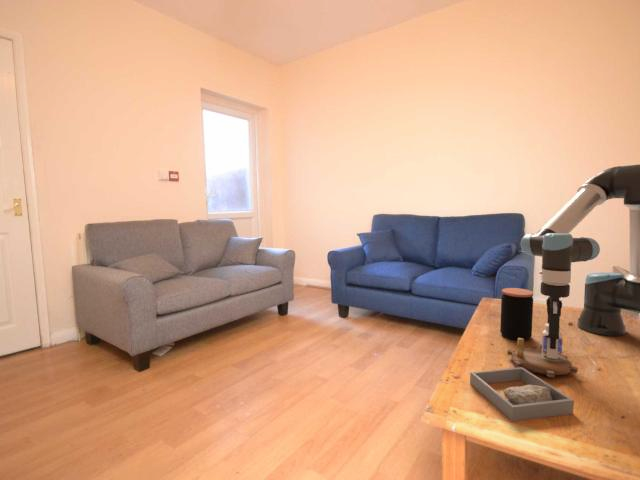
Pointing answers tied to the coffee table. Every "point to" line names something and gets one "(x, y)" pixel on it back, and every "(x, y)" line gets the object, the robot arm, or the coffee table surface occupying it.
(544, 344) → the pill bottle
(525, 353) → the turntable
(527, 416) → the stone tray
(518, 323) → the coffee jar
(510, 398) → the decorative stone
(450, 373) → the coffee table surface
